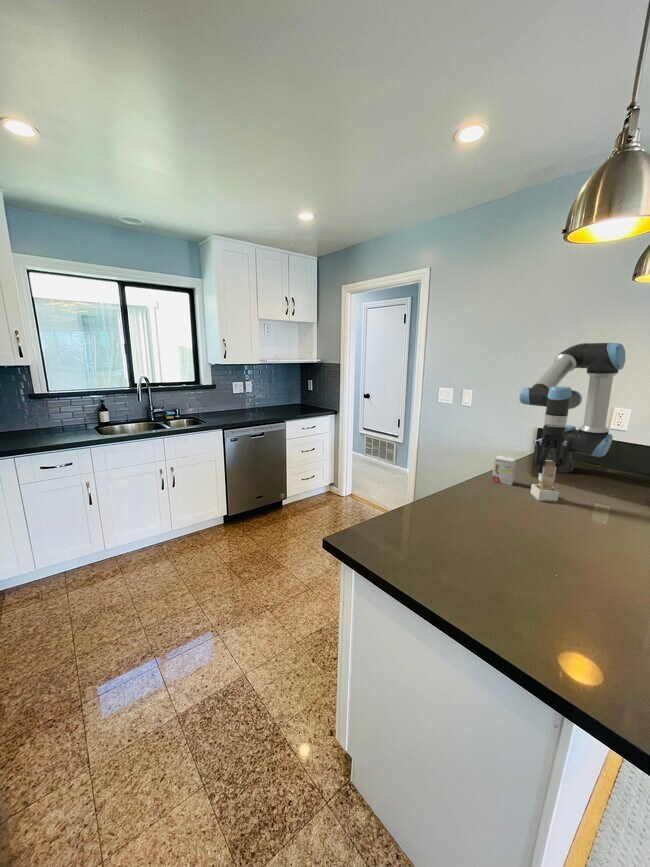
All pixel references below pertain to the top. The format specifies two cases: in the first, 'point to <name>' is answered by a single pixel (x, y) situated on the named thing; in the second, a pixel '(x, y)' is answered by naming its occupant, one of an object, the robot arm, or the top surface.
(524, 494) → the top surface
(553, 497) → the white square open box
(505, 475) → the ink box
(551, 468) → the tan wooden block
